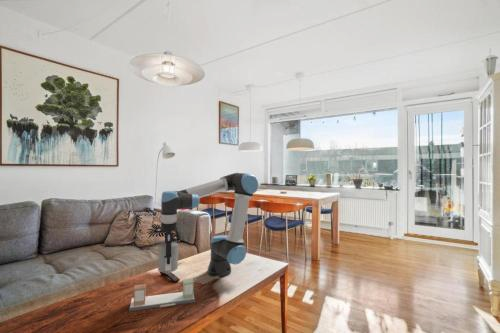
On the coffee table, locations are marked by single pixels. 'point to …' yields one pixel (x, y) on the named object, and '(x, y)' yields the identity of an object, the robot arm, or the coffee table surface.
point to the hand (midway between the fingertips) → (168, 266)
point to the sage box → (188, 288)
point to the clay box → (139, 294)
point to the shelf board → (161, 301)
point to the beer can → (163, 253)
